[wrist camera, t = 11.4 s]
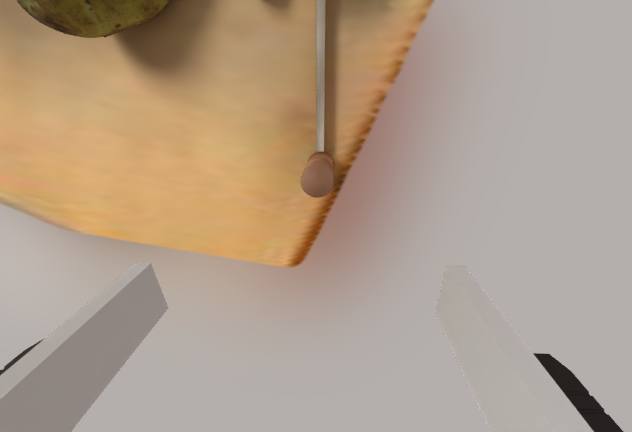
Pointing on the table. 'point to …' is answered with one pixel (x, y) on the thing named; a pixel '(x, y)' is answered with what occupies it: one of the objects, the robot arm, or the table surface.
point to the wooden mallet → (319, 123)
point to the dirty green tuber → (92, 14)
